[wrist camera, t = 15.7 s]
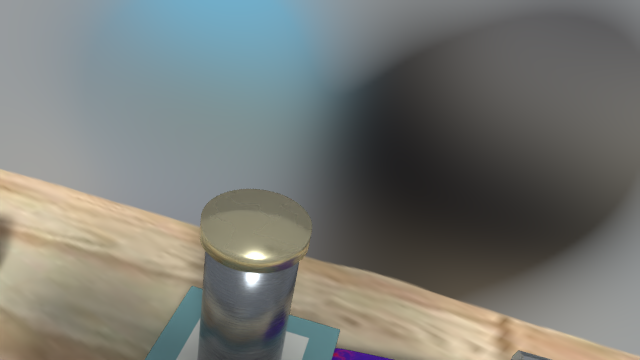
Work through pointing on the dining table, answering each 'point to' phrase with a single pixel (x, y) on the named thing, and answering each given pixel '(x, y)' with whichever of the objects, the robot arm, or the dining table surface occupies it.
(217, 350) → the metal jar with lid
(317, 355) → the stand
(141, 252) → the dining table surface
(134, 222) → the dining table surface
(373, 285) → the dining table surface
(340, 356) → the handheld gaming console
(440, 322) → the dining table surface
